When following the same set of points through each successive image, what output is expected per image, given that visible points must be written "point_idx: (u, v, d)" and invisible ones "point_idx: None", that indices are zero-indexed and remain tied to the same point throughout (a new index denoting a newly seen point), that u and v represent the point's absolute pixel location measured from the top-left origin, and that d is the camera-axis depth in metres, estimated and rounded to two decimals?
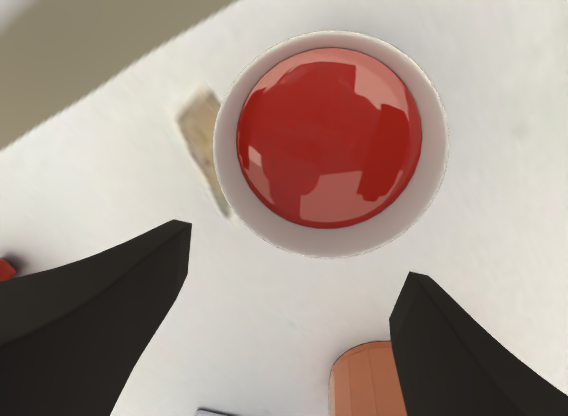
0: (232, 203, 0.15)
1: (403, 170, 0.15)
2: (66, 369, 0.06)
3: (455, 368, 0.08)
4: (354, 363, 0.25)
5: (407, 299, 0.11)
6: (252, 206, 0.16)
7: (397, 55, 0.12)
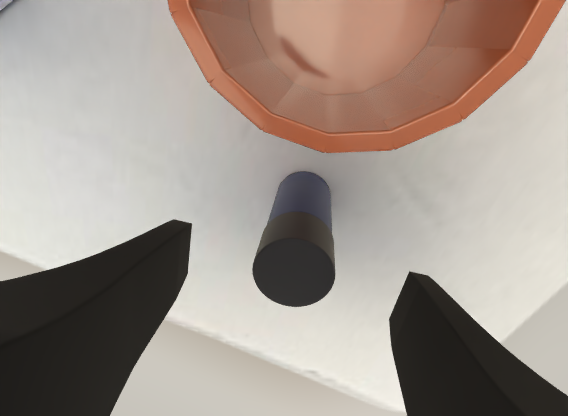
0: None
1: None
2: (66, 369, 0.06)
3: (455, 368, 0.08)
4: None
5: (407, 299, 0.11)
6: None
7: None
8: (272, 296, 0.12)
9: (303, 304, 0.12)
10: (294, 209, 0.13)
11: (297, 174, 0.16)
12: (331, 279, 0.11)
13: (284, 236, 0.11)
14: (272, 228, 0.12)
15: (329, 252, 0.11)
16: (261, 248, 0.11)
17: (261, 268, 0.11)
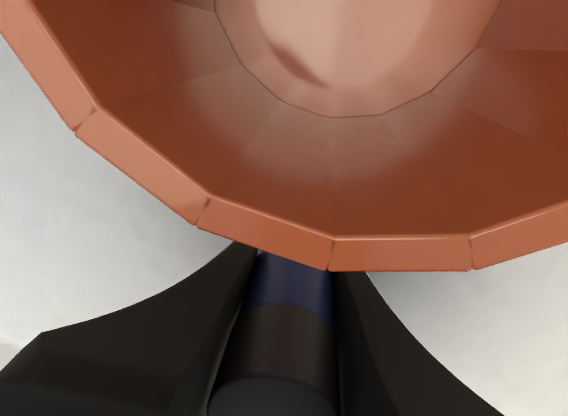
0: None
1: None
2: (194, 398, 0.06)
3: (353, 345, 0.08)
4: None
5: (334, 283, 0.11)
6: None
7: None
8: None
9: None
10: (278, 298, 0.08)
11: None
12: None
13: (255, 365, 0.07)
14: (240, 338, 0.08)
15: (331, 389, 0.07)
16: (219, 383, 0.07)
17: (220, 412, 0.07)
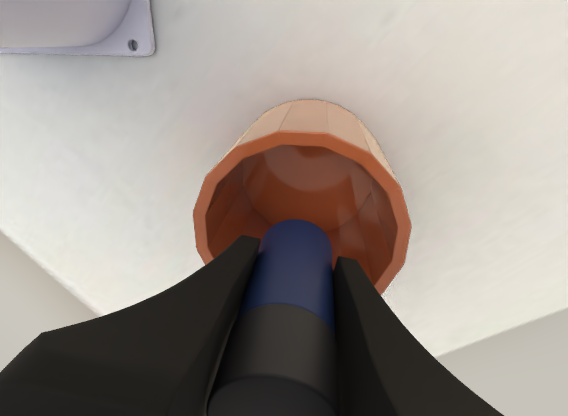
0: None
1: None
2: (194, 398, 0.06)
3: (353, 345, 0.08)
4: (362, 125, 0.17)
5: (333, 283, 0.11)
6: None
7: None
8: None
9: None
10: (278, 298, 0.08)
11: (286, 224, 0.12)
12: None
13: (255, 366, 0.07)
14: (240, 338, 0.08)
15: (331, 389, 0.07)
16: (218, 383, 0.07)
17: (219, 413, 0.07)
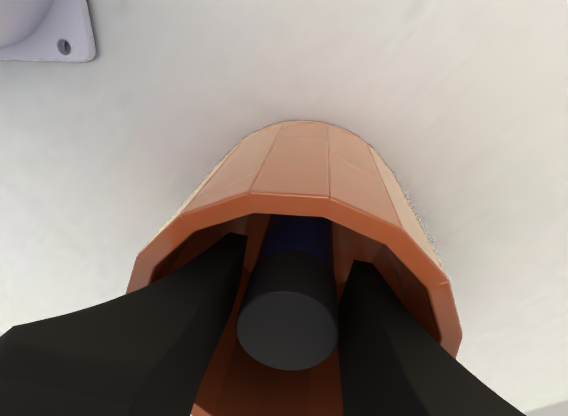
0: None
1: None
2: (171, 393, 0.06)
3: (375, 350, 0.08)
4: (377, 157, 0.13)
5: (350, 286, 0.11)
6: None
7: None
8: (260, 358, 0.10)
9: (299, 368, 0.10)
10: (289, 246, 0.11)
11: None
12: (334, 340, 0.09)
13: (274, 287, 0.09)
14: (260, 273, 0.10)
15: (331, 307, 0.09)
16: (246, 302, 0.09)
17: (245, 326, 0.09)
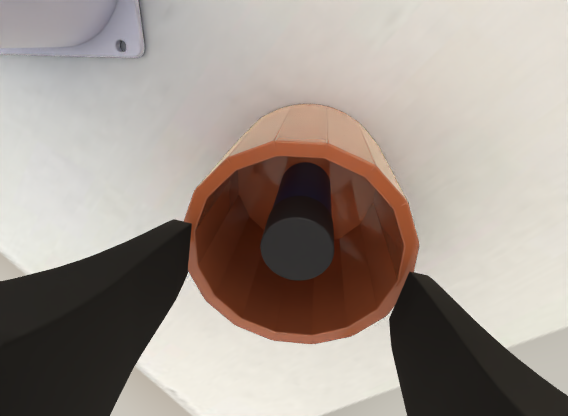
0: None
1: None
2: (66, 369, 0.06)
3: (455, 368, 0.08)
4: (365, 131, 0.16)
5: (407, 299, 0.11)
6: None
7: None
8: (278, 271, 0.13)
9: (305, 278, 0.13)
10: (298, 194, 0.14)
11: (299, 164, 0.18)
12: (331, 254, 0.13)
13: (288, 215, 0.12)
14: (277, 210, 0.13)
15: (329, 230, 0.13)
16: (268, 226, 0.13)
17: (268, 245, 0.13)
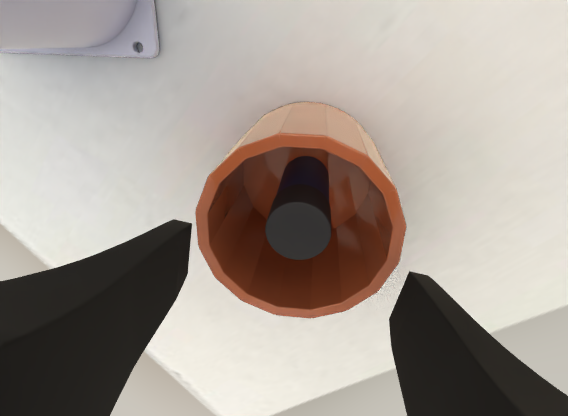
0: None
1: None
2: (66, 369, 0.06)
3: (455, 368, 0.08)
4: (360, 127, 0.18)
5: (407, 299, 0.11)
6: None
7: None
8: (280, 251, 0.15)
9: (305, 257, 0.15)
10: (299, 182, 0.16)
11: (300, 158, 0.19)
12: (328, 236, 0.14)
13: (291, 200, 0.14)
14: (281, 196, 0.15)
15: (326, 214, 0.14)
16: (272, 210, 0.14)
17: (272, 227, 0.14)
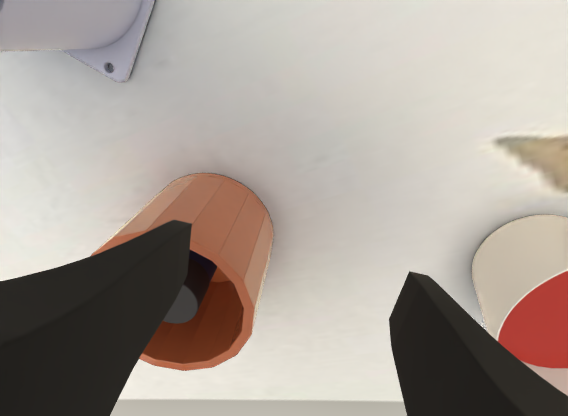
0: None
1: (519, 351, 0.19)
2: (66, 369, 0.06)
3: (455, 368, 0.08)
4: (266, 225, 0.21)
5: (407, 299, 0.11)
6: None
7: None
8: None
9: (169, 321, 0.18)
10: (193, 257, 0.18)
11: None
12: (193, 314, 0.17)
13: None
14: None
15: (199, 298, 0.17)
16: None
17: None
